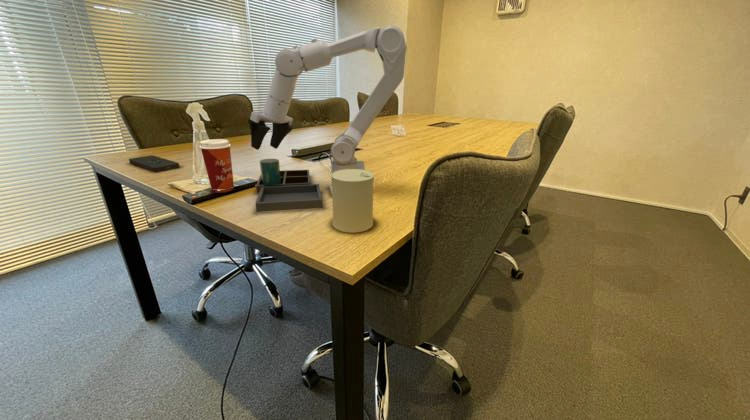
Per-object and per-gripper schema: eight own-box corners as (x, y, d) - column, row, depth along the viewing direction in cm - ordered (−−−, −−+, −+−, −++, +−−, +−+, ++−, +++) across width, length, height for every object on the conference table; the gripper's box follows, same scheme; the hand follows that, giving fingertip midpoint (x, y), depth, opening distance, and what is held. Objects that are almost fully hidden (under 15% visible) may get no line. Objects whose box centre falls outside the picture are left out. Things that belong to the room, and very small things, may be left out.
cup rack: (309, 176, 101) (308, 169, 100) (310, 191, 88) (310, 183, 87) (262, 178, 98) (261, 171, 97) (257, 193, 85) (255, 185, 84)
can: (369, 234, 64) (370, 180, 59) (327, 230, 65) (324, 177, 60) (376, 217, 72) (377, 168, 68) (338, 213, 74) (337, 165, 69)
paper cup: (226, 196, 82) (217, 144, 77) (201, 193, 84) (191, 142, 78) (243, 187, 90) (236, 139, 84) (220, 185, 91) (212, 137, 85)
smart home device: (153, 167, 100) (127, 158, 110) (155, 172, 101) (128, 163, 110) (180, 162, 107) (152, 154, 116) (181, 167, 107) (153, 159, 117)
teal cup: (282, 184, 92) (279, 158, 89) (281, 189, 87) (278, 162, 84) (264, 185, 91) (260, 158, 87) (262, 190, 86) (258, 163, 83)
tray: (319, 192, 87) (319, 184, 86) (322, 209, 76) (322, 199, 75) (262, 195, 84) (261, 186, 83) (256, 213, 73) (255, 203, 72)
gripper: (284, 96, 86) (270, 140, 90) (246, 88, 72) (233, 141, 77) (304, 106, 84) (289, 151, 89) (269, 101, 71) (254, 153, 76)
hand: (264, 147), depth 83 cm, fingers open, 7 cm apart
